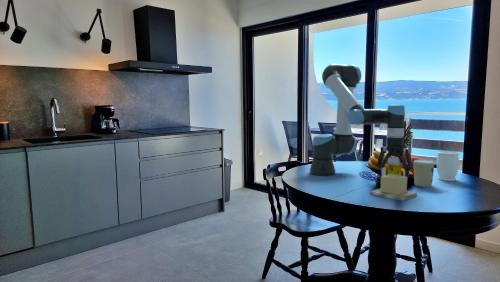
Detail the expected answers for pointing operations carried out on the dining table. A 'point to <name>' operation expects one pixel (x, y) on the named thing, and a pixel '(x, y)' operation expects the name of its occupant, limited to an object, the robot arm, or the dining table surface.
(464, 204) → the dining table surface
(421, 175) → the coffee cup
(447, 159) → the jar
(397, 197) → the blueprint board
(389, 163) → the glass of beer
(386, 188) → the cream yellow block
